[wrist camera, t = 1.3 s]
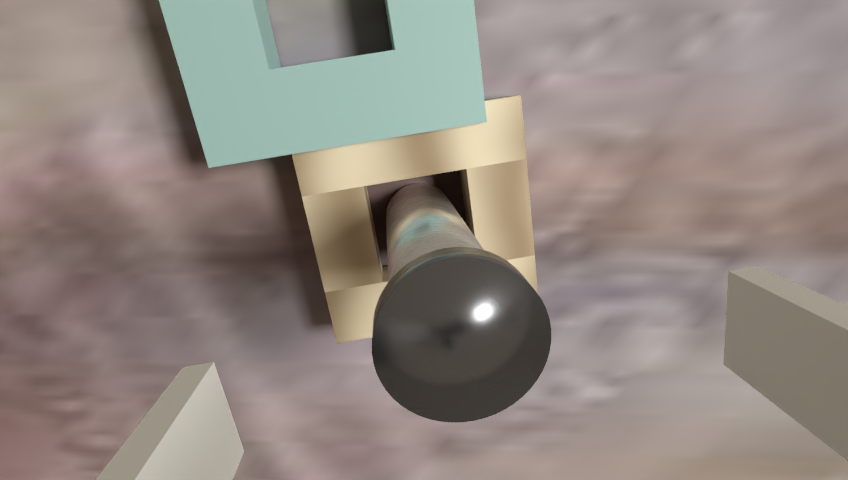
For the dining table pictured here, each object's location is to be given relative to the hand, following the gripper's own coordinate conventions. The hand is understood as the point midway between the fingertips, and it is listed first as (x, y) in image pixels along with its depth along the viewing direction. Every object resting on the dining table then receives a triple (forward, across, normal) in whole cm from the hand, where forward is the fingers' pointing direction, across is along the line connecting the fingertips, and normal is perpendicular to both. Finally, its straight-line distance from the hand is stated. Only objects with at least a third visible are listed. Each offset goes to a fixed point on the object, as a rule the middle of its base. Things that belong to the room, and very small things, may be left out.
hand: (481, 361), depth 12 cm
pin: (+16, 0, 0) cm, 16 cm away
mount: (+16, 0, 0) cm, 16 cm away
